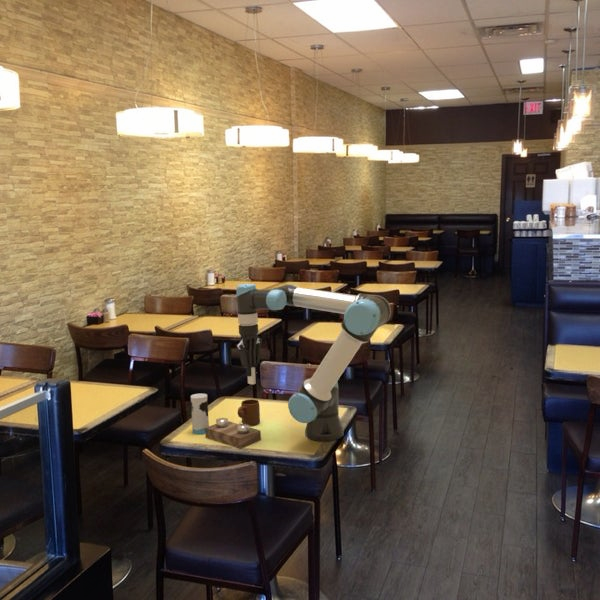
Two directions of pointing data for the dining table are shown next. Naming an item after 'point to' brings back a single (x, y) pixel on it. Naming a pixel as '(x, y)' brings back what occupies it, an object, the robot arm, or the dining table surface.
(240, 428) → the near knob
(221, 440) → the mount block
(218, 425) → the far knob
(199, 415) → the cup
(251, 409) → the mug
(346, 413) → the dining table surface
